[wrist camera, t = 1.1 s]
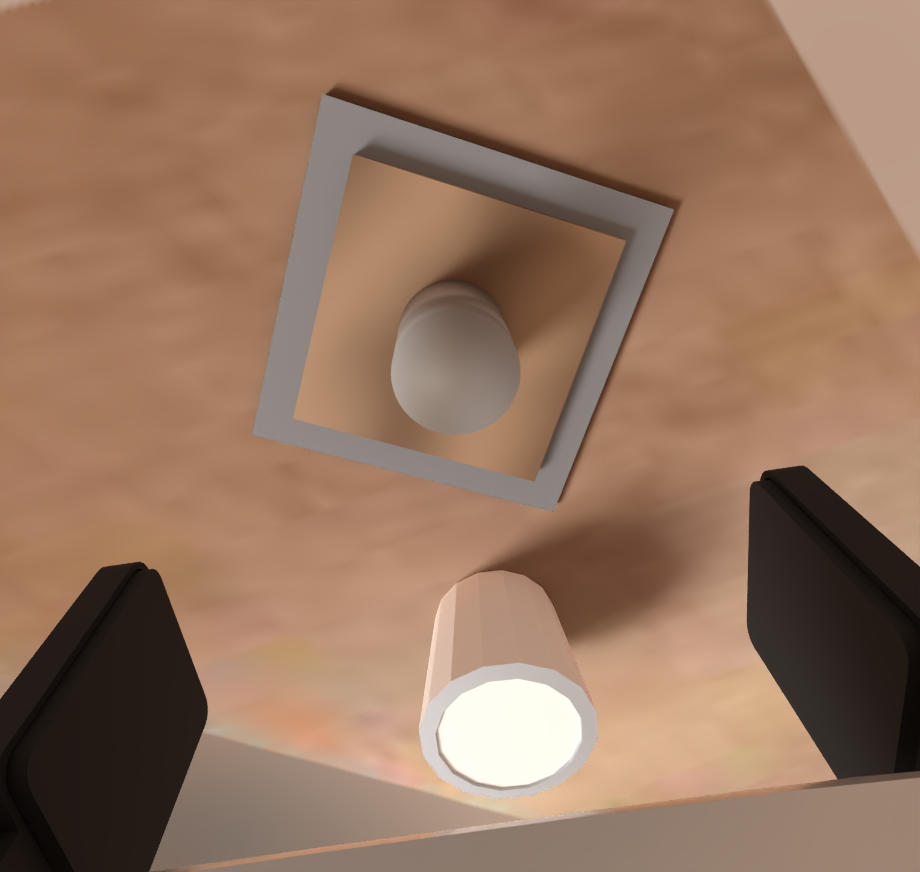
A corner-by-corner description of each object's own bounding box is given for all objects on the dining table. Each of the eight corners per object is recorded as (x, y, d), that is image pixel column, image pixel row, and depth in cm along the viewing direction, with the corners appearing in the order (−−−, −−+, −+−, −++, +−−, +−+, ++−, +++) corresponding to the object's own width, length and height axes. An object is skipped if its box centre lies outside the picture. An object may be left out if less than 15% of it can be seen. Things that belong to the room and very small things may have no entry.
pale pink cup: (507, 531, 31) (525, 633, 25) (596, 625, 33) (634, 742, 27) (391, 614, 33) (380, 731, 26) (484, 700, 35) (495, 827, 28)
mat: (670, 208, 26) (674, 209, 26) (551, 506, 31) (553, 511, 30) (324, 94, 24) (322, 93, 24) (255, 430, 29) (252, 435, 28)
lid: (620, 238, 26) (669, 263, 21) (532, 473, 29) (552, 546, 24) (355, 153, 24) (332, 157, 19) (296, 411, 28) (264, 474, 23)
